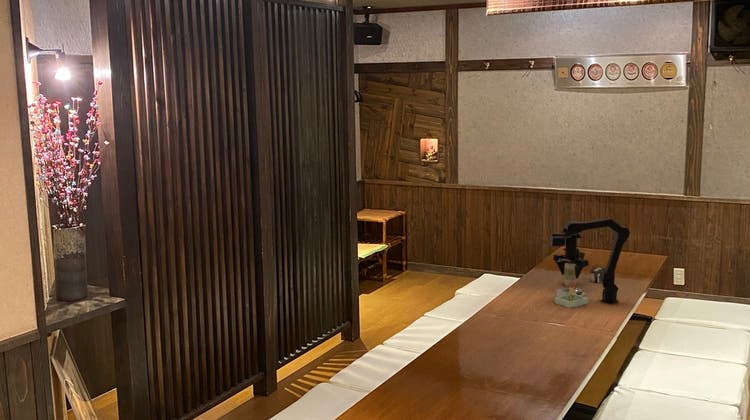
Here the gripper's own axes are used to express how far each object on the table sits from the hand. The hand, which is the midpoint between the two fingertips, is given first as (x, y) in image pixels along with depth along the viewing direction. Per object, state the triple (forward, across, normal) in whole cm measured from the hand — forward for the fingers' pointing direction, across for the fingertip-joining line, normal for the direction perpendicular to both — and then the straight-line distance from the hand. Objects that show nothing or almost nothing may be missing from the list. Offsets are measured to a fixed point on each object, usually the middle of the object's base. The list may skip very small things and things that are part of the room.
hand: (569, 276), depth 365 cm
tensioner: (+13, +6, -10) cm, 17 cm away
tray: (+13, -3, +2) cm, 13 cm away
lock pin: (+12, -3, +2) cm, 13 cm away
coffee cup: (+13, +22, -26) cm, 37 cm away
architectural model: (+14, +19, -45) cm, 51 cm away
